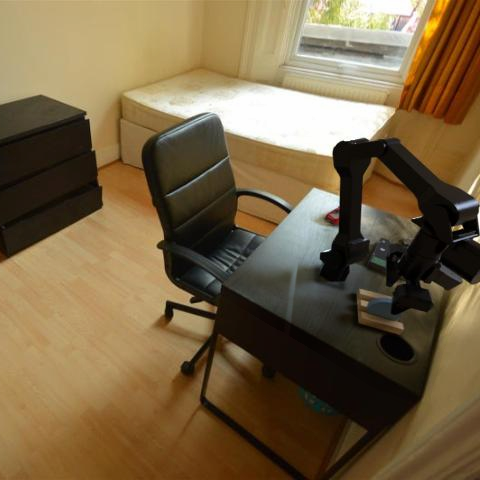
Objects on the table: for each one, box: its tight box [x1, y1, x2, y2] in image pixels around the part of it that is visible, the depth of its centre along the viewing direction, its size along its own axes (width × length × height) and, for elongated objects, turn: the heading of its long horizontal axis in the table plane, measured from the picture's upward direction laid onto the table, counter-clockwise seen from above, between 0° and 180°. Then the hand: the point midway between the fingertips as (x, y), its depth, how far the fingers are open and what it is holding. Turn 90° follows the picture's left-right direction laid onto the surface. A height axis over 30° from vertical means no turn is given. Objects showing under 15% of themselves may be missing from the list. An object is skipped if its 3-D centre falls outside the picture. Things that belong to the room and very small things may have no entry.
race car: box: [324, 205, 339, 226], centre depth 117 cm, size 13×5×4 cm, turn 122°
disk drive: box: [366, 237, 406, 282], centre depth 100 cm, size 10×3×15 cm
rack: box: [356, 288, 405, 336], centre depth 84 cm, size 9×10×3 cm
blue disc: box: [367, 297, 403, 321], centre depth 81 cm, size 7×2×7 cm, turn 68°
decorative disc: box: [401, 236, 414, 245], centre depth 107 cm, size 6×6×1 cm
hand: (390, 299), depth 78 cm, fingers open, 9 cm apart
